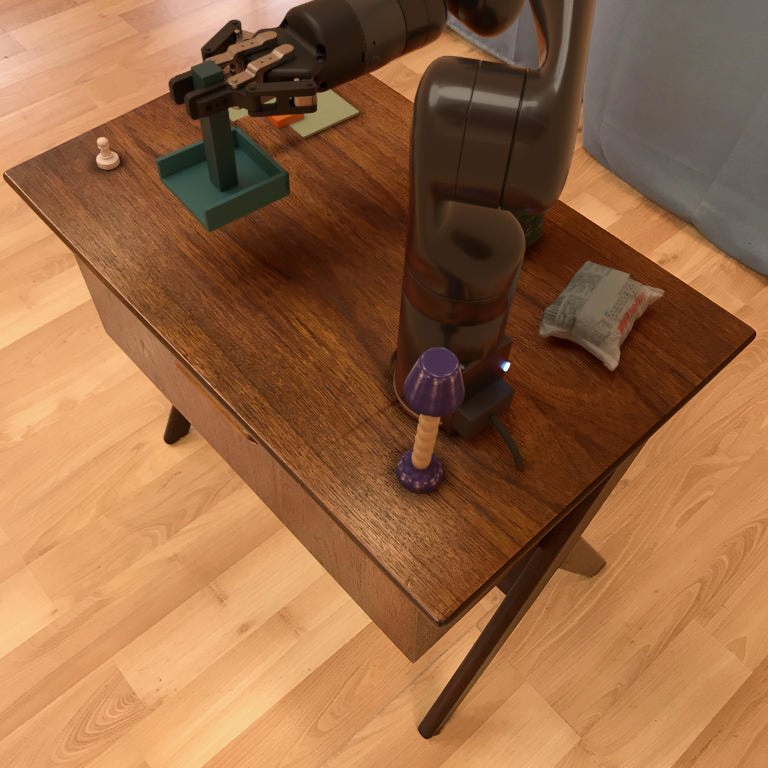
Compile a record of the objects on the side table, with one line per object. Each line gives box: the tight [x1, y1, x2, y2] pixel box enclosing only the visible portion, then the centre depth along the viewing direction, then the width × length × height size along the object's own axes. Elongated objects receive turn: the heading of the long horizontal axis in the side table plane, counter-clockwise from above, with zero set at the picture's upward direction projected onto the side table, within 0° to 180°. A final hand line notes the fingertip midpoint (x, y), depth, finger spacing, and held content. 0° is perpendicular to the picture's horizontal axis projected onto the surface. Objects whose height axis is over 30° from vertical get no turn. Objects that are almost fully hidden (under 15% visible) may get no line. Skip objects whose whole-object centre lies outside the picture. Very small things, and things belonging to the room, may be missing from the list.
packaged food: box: [538, 260, 665, 372], centre depth 80 cm, size 9×12×5 cm
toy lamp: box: [395, 347, 465, 494], centre depth 64 cm, size 5×5×17 cm
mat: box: [228, 89, 360, 139], centre depth 102 cm, size 14×14×1 cm
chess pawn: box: [95, 136, 121, 171], centre depth 93 cm, size 3×3×4 cm
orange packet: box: [266, 114, 304, 129], centre depth 100 cm, size 2×4×1 cm, turn 128°
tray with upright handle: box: [155, 60, 291, 233], centre depth 71 cm, size 9×9×13 cm
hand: (180, 100), depth 67 cm, fingers closed on tray with upright handle
